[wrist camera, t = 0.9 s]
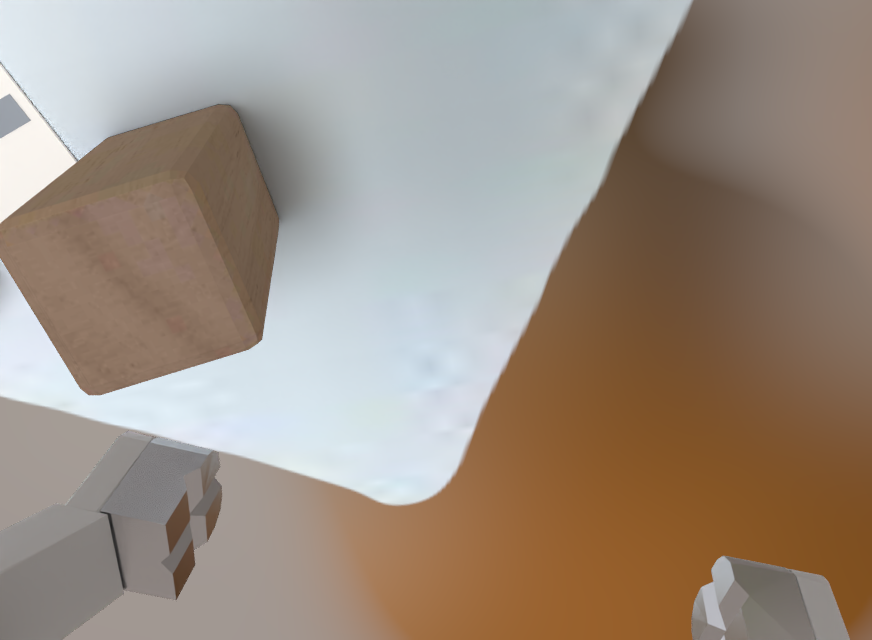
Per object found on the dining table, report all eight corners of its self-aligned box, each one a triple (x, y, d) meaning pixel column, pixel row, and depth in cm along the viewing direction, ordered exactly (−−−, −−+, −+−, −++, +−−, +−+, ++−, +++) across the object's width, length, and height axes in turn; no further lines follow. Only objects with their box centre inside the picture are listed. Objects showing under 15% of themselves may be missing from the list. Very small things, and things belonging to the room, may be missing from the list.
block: (159, 264, 54) (82, 408, 36) (97, 138, 49) (-27, 233, 31) (284, 226, 54) (268, 351, 36) (234, 97, 49) (187, 168, 32)
